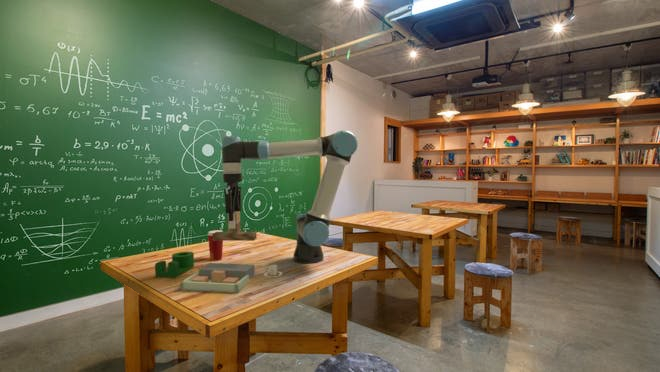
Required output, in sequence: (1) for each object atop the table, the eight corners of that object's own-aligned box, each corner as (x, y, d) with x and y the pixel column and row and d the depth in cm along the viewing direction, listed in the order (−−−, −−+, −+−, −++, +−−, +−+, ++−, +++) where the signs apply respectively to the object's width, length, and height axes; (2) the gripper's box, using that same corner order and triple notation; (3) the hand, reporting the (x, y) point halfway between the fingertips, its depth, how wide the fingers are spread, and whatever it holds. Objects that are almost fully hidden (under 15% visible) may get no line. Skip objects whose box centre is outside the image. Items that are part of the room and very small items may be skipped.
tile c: (202, 280, 122) (202, 286, 122) (208, 276, 126) (208, 282, 126) (191, 279, 122) (191, 286, 122) (197, 276, 127) (197, 282, 127)
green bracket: (179, 264, 153) (179, 251, 152) (197, 265, 152) (197, 251, 151) (155, 277, 135) (154, 262, 134) (175, 278, 134) (175, 262, 133)
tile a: (233, 281, 120) (233, 288, 121) (238, 277, 125) (238, 284, 125) (222, 281, 121) (222, 287, 121) (227, 277, 125) (227, 283, 126)
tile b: (225, 270, 127) (222, 272, 125) (225, 281, 127) (222, 284, 125) (214, 270, 128) (211, 272, 125) (214, 281, 128) (211, 283, 125)
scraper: (256, 238, 140) (255, 211, 140) (253, 240, 136) (252, 212, 136) (216, 238, 142) (215, 211, 141) (212, 240, 138) (211, 212, 137)
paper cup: (226, 257, 165) (226, 230, 164) (220, 261, 157) (219, 233, 157) (212, 256, 166) (211, 229, 165) (204, 261, 158) (204, 232, 157)
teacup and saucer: (268, 271, 144) (268, 262, 144) (285, 272, 142) (285, 263, 142) (260, 277, 135) (260, 268, 135) (279, 278, 134) (278, 269, 134)
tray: (249, 282, 128) (249, 275, 128) (237, 293, 117) (237, 284, 117) (196, 280, 131) (196, 272, 131) (180, 290, 120) (180, 282, 120)
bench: (254, 275, 137) (254, 264, 137) (246, 282, 128) (246, 271, 128) (210, 273, 140) (210, 262, 140) (199, 280, 131) (198, 269, 131)
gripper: (231, 172, 146) (233, 223, 148) (215, 173, 129) (217, 231, 131) (247, 172, 146) (249, 223, 147) (233, 173, 129) (235, 231, 130)
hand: (234, 227), depth 139 cm, fingers closed on scraper, 4 cm apart
